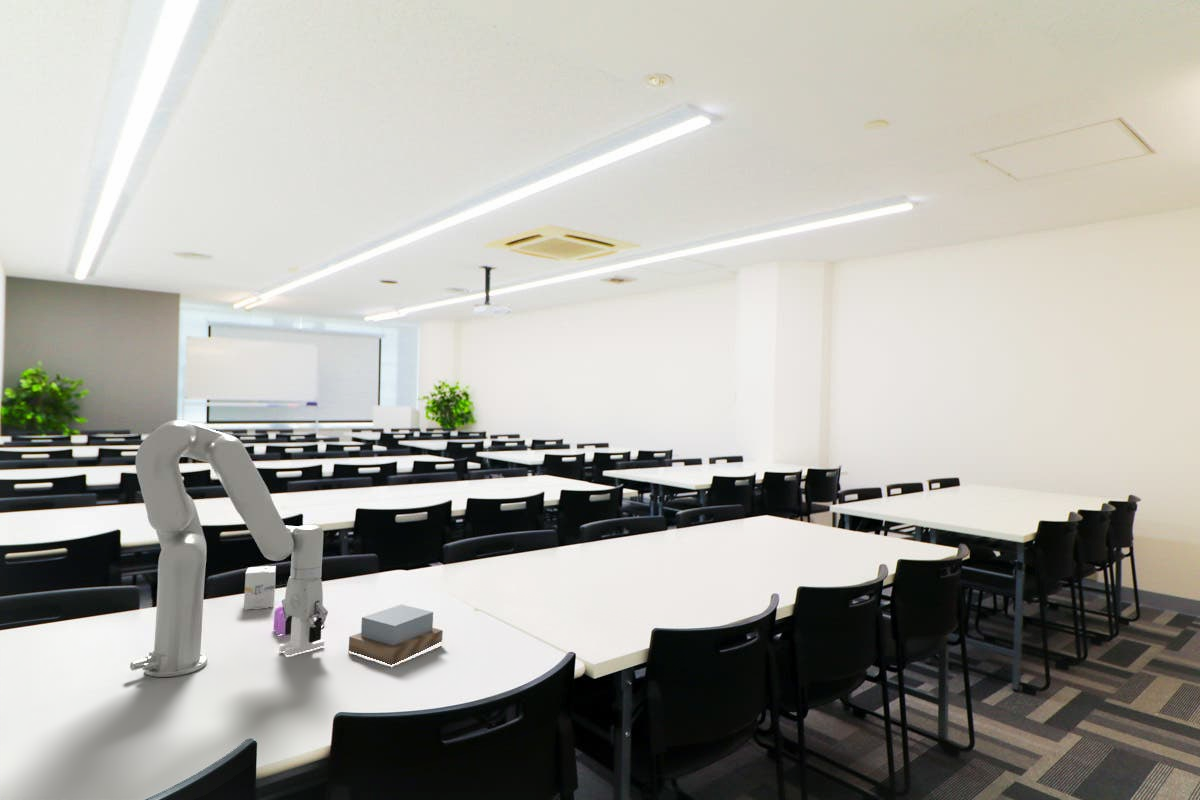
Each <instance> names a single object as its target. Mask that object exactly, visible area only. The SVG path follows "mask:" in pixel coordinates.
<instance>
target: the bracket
mask: <svg viewBox="0 0 1200 800" xmlns="http://www.w3.org/2000/svg"><path fill="white" fill-rule="evenodd" d="M273 616H274V617H273V630H275V631H276V632H277V634H278V635H280V634H285V624H286V620H287V619H285V618H284V616H285V614H284V612H283V606H282V605H279V606H278V607H276V608H275V610H274V614H273ZM316 620H317V619H316V618H314V621H316ZM323 625H324V626H325V621H324V622H323ZM321 626H322V625H321ZM277 634H276V635H277ZM278 635H277V636H278Z"/></svg>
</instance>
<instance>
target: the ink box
mask: <svg viewBox="0 0 1200 800" xmlns="http://www.w3.org/2000/svg"><path fill="white" fill-rule="evenodd" d="M276 571H277V566H276V565H271V566H270V565H264V566H262V565H261V566H250V567H247V569H246V571H245V575H244V576H245V578H244V580H245V581H244V582H245V583H244V597H243V600H244V601H243V602H244V603H243V611H248V610H249V609H254V610H262V609H261V608H267V609H269V608H268V607H273V608H274V605H275V593H276V573H277V572H276ZM249 611H250V610H249Z"/></svg>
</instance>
